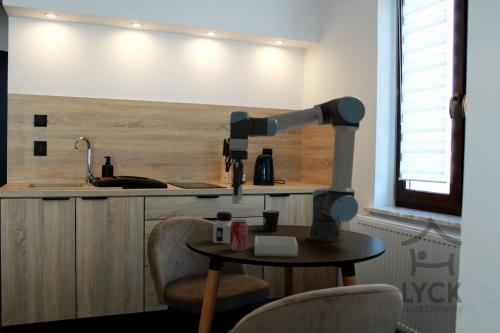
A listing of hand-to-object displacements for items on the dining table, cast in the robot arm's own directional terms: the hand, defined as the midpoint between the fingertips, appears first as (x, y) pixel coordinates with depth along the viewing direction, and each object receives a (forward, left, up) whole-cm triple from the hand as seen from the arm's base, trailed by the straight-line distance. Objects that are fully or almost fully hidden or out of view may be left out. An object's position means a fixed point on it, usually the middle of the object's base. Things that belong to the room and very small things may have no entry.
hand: (237, 202), depth 186 cm
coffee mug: (-15, -47, -19) cm, 53 cm away
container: (+6, -15, -19) cm, 25 cm away
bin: (-16, +2, -19) cm, 25 cm away
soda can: (-1, +1, -19) cm, 19 cm away
